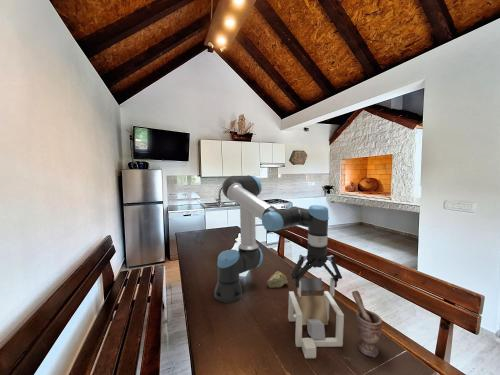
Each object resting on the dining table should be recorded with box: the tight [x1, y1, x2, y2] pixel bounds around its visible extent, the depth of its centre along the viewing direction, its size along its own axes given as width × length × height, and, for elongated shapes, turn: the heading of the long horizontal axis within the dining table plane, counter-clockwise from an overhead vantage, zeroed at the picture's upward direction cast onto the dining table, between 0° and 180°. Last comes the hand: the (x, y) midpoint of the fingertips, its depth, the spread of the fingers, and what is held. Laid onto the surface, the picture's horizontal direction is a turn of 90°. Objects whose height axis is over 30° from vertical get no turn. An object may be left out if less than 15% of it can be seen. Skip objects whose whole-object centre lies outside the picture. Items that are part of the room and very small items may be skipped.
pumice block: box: [301, 339, 317, 359], centre depth 80 cm, size 4×4×4 cm
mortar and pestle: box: [351, 290, 383, 359], centre depth 83 cm, size 12×9×20 cm
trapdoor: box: [295, 277, 329, 326], centre depth 94 cm, size 13×18×4 cm
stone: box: [306, 319, 326, 339], centre depth 88 cm, size 5×5×7 cm
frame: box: [287, 290, 345, 348], centre depth 91 cm, size 18×16×13 cm
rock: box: [266, 270, 289, 289], centre depth 128 cm, size 12×9×10 cm
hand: (315, 294), depth 88 cm, fingers open, 13 cm apart
